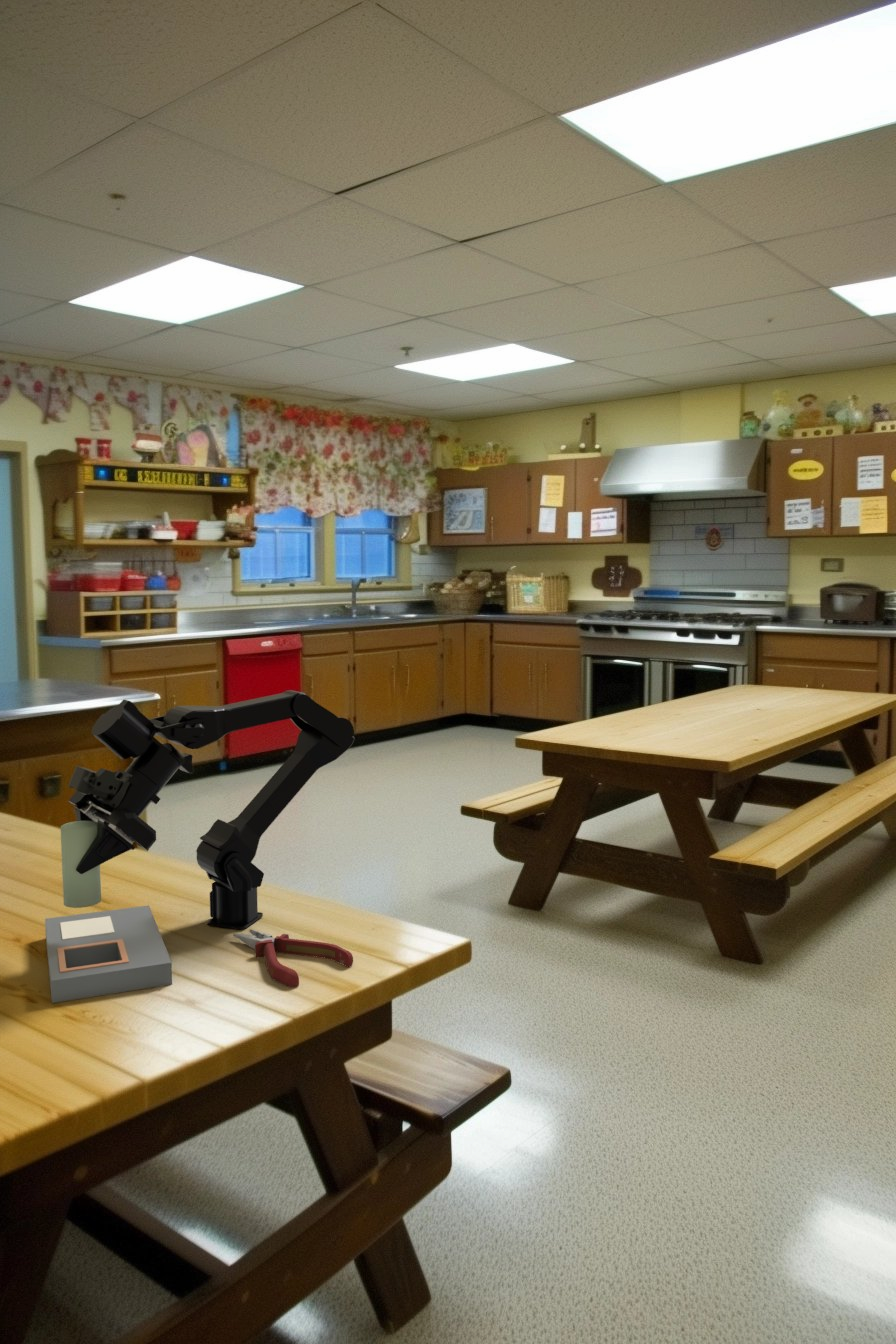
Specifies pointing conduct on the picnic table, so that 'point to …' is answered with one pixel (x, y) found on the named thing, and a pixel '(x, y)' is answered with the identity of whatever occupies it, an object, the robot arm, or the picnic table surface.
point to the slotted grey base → (105, 953)
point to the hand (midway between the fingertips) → (71, 867)
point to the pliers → (282, 944)
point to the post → (74, 846)
